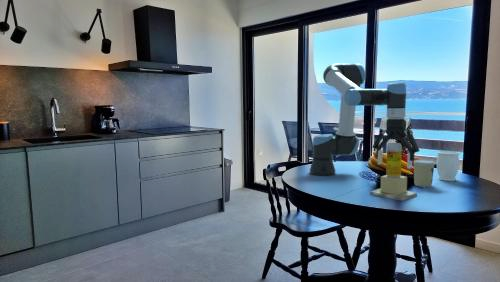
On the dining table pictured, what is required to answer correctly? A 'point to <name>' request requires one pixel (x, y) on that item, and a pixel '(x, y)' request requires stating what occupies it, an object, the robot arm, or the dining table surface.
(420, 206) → the dining table surface
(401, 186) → the cream yellow block
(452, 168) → the jar
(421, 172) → the coffee cup
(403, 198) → the blueprint board
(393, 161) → the glass of beer
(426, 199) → the dining table surface
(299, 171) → the dining table surface
